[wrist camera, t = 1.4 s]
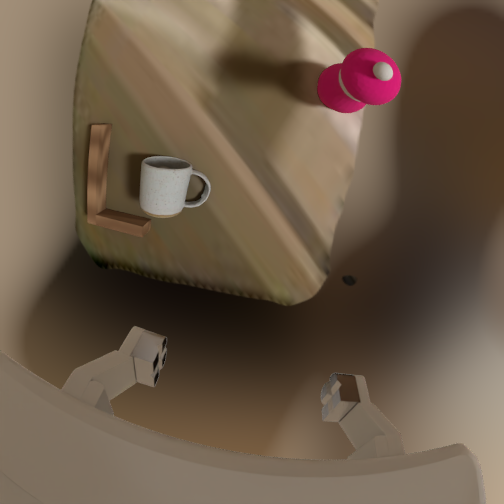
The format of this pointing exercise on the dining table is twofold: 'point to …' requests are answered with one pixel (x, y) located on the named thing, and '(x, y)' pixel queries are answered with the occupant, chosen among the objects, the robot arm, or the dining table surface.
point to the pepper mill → (359, 81)
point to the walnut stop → (98, 188)
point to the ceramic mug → (167, 186)
